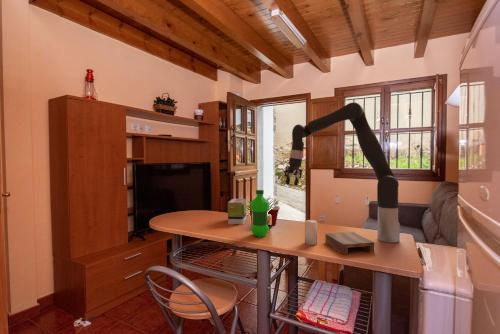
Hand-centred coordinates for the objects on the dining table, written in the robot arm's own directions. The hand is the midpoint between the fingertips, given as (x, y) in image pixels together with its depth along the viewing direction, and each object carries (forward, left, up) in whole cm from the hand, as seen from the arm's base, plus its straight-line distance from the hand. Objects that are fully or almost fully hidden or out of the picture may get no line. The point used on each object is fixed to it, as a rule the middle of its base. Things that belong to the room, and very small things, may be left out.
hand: (291, 184), depth 156 cm
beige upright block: (0, +28, -26) cm, 38 cm away
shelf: (-15, +37, -26) cm, 48 cm away
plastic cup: (+10, -10, -27) cm, 30 cm away
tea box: (+30, -23, -27) cm, 46 cm away
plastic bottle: (+22, +10, -27) cm, 36 cm away
